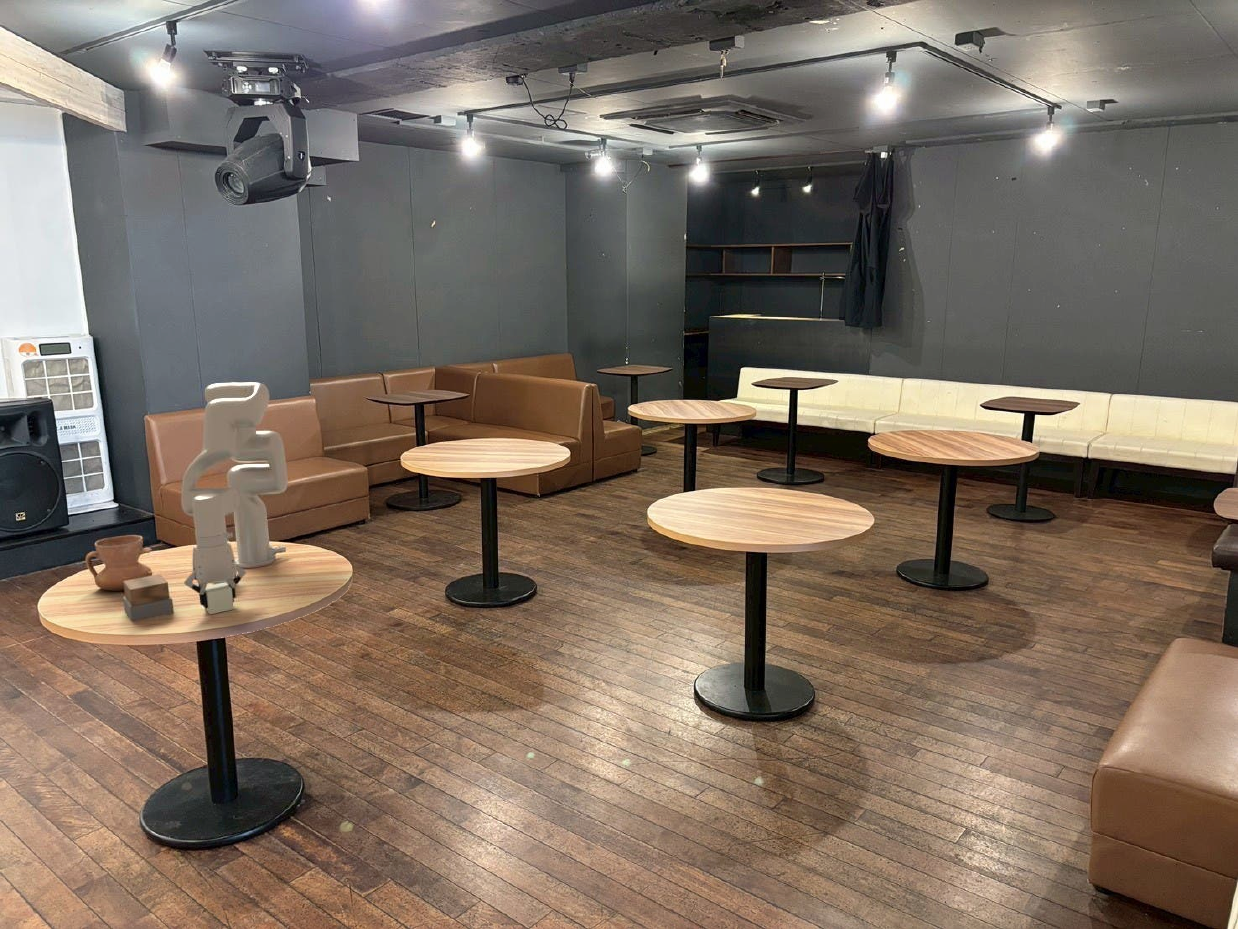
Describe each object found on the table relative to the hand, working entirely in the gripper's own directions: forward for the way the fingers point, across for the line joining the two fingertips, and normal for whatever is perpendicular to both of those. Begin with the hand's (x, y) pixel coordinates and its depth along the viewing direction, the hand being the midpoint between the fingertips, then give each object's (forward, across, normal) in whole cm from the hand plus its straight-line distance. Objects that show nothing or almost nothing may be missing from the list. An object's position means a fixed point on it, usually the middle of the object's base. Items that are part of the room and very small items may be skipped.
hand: (218, 603), depth 235 cm
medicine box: (+2, -6, -19) cm, 20 cm away
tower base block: (+2, +15, -10) cm, 18 cm away
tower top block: (-2, +15, -10) cm, 18 cm away
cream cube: (+1, 0, 0) cm, 1 cm away
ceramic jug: (+2, +17, -38) cm, 42 cm away
